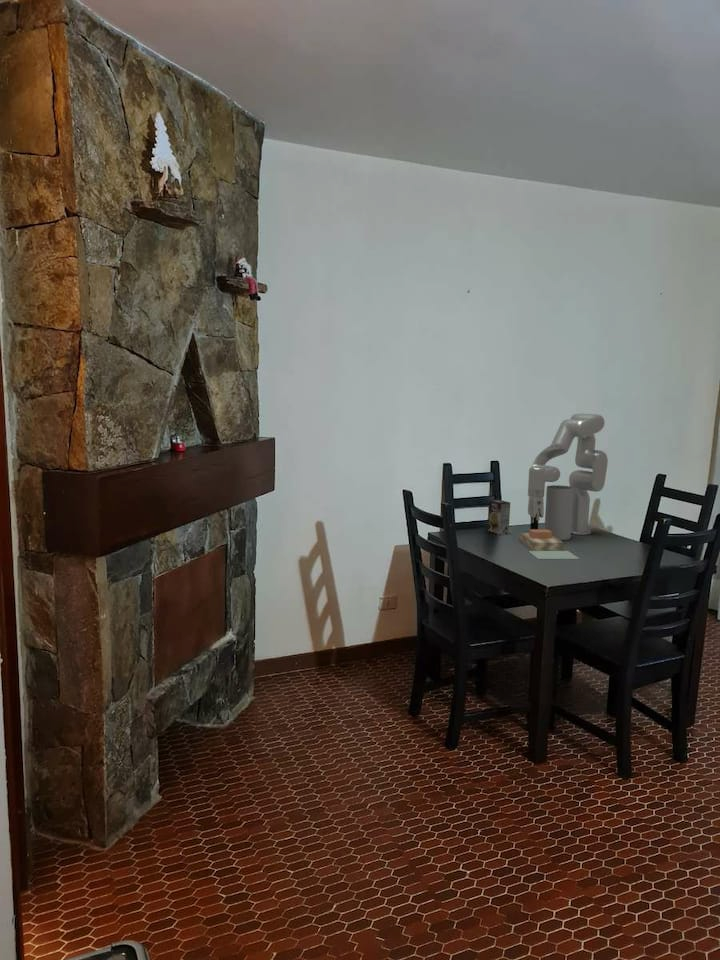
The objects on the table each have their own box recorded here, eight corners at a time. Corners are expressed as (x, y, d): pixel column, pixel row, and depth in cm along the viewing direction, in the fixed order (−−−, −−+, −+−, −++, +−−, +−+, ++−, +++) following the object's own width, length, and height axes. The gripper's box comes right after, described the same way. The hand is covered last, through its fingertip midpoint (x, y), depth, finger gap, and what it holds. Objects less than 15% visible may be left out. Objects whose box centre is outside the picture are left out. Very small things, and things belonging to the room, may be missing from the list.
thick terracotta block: (547, 535, 327) (547, 529, 326) (551, 538, 321) (552, 532, 321) (528, 535, 326) (529, 529, 326) (532, 538, 320) (533, 532, 320)
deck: (548, 541, 334) (548, 532, 333) (562, 551, 314) (563, 542, 313) (519, 541, 333) (519, 532, 332) (532, 551, 313) (532, 542, 312)
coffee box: (487, 531, 353) (488, 500, 351) (497, 530, 356) (498, 499, 354) (499, 535, 345) (500, 502, 343) (509, 533, 348) (510, 502, 346)
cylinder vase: (576, 539, 337) (579, 488, 334) (554, 541, 333) (557, 489, 329) (559, 534, 349) (562, 484, 345) (538, 536, 344) (541, 485, 341)
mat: (567, 551, 313) (567, 550, 313) (579, 559, 300) (579, 558, 300) (528, 551, 312) (528, 550, 312) (538, 559, 298) (538, 558, 298)
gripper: (549, 495, 323) (546, 534, 325) (538, 490, 337) (536, 527, 340) (533, 495, 322) (531, 534, 325) (523, 490, 337) (521, 527, 339)
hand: (534, 531), depth 332 cm, fingers closed
